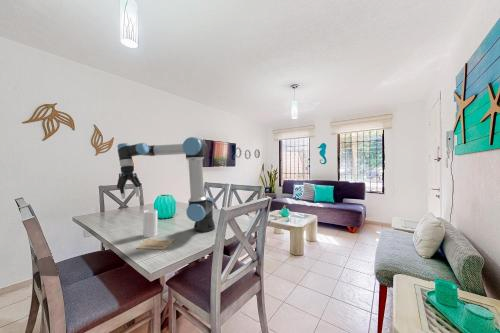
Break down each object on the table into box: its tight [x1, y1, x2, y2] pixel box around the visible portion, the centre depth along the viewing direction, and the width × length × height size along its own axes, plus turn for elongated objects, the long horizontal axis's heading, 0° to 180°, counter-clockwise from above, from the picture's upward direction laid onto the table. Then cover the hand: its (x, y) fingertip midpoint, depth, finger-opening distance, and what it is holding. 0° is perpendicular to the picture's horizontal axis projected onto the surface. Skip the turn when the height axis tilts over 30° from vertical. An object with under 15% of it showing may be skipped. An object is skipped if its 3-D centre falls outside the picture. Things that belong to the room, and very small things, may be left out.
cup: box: [142, 209, 158, 238], centre depth 129 cm, size 8×8×16 cm
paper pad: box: [135, 238, 175, 250], centre depth 115 cm, size 16×13×1 cm
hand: (131, 197), depth 132 cm, fingers open, 13 cm apart
